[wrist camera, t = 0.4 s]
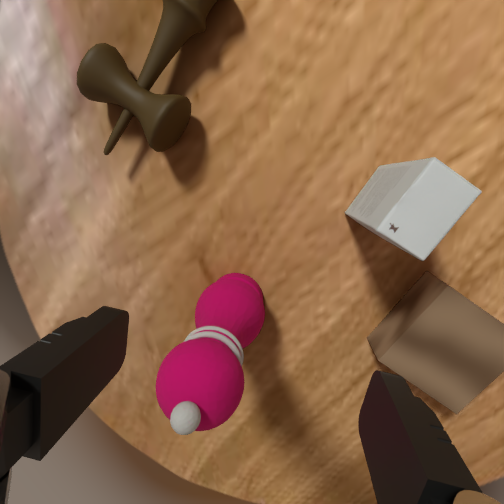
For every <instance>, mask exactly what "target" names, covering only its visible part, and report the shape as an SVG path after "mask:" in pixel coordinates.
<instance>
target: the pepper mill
mask: <svg viewBox="0 0 504 504" xmlns="http://www.w3.org/2000/svg"><path fill="white" fill-rule="evenodd" d="M264 318H265V309H264V304H263V294H262V291H261V289H260V287H259V285H258V284H257V283H256V281H255V280H253V279H252V278H251V277H249V276H247V275H244V274H240V273H231V274H227V275H224V276H222V277H221V278H220V279H218V280H217V281H216V282H215V283H213V284H211V285H210V286H209V287H207V288H206V289H205V290H204V292H203V293H202V294H201V296H200V298H199V300H198V303H197V306H196V311H195V324H196V328H197V329H196V330H194V331H192V332H191V333H190V334H189V335H188V336H187V337H186V339H185V341H184V342H183V343H181V344H179V345H177V346H176V347H175V348H173V349H172V350H171V351H170V353H169V354H168V355H167V356H166V357H165V359H164V360H163V362H162V364H161V366H160V368H159V371H158V374H157V380H156V395H157V400H158V403H159V406H160V408H161V409H162V411H163V412H164V414H165V416H166V417H167V418H168V419H169V420H170V423H171V426H172V428H173V429H174V431H175V432H176V433H178V434H181V435H188V434H190V433H192V432H193V431H204V430H210V429H212V428H215V427H218V426H219V425H221V424H223V423H224V422H225V421H227V420H228V419H229V418H230V416H231V415H232V414H233V413H234V412H235V410H236V408H237V407H238V405H239V403H240V400H241V398H242V394H243V391H244V373H243V369H242V364H243V359H244V355H243V348H244V347H246V346H248V345H249V344H250V343H251V342H252V341H253V340H254V339H255V338H256V337H257V335H258V334H259V333H260V330H261V328H262V326H263V323H264Z"/></svg>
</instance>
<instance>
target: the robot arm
mask: <svg viewBox="0 0 504 504" xmlns="http://www.w3.org/2000/svg"><path fill="white" fill-rule="evenodd" d="M128 324H129V314H128V312H127V311H125V310H120V309H116V308H112V307H108V306H103V307H101V308H99V309H98V310H97V311H95V312H94V313H92V314H91V315H89V316H88V317H87V318H86V317H81V318H78V319H75V320H73V321H70V322H67V323H65V324H63V325H62V326H60V327H59V328H57V329H56V330H54V331H53V332H52V334H48V335H47V336H45V337H44V338H42V339H41V341H37V342H36V343H34V344H33V345H31V346H30V347H28V348H27V349H25V350H24V351H22V352H21V353H19V354H18V355H16V356H15V357H13V358H12V359H10V360H9V361H7V362H6V363H4V364H3V365H1V366H0V504H8V498H9V491H10V483H11V475H12V466H13V465H14V464H15V463H16V462H17V461H18V460H19V459H20V458H21V457H22V456H24V457H27V458H32V459H35V460H39V461H41V460H42V458H43V457H44V456H45V455H46V454H47V453H48V452H49V450H50V449H51V448H52V447H53V446H54V445H55V443H56V442H57V441H58V440H59V439H60V438H61V437H62V436H63V434H64V433H65V432H66V431H67V430H68V429H69V428H70V426H71V425H72V424H73V423H74V422H75V420H77V418H78V417H79V416H80V415H81V414H82V413H83V412H84V410H85V409H86V408H87V407H88V406H89V405H90V404H91V402H92V401H93V400H94V399H95V398H96V397H97V396H98V394H99V393H100V392H101V391H102V390H103V389H104V388H105V386H106V385H107V384H108V383H109V382H110V381H111V380H112V378H113V377H114V376H115V375H116V374H117V373H118V371H119V370H120V368H121V366H122V364H123V362H124V359H125V355H126V346H127V335H128ZM359 434H360V438H361V442H362V446H363V449H364V453H365V457H366V461H367V465H368V468H369V472H370V476H371V480H372V484H373V487H374V491H375V495H376V499H377V503H378V504H501V503H499V502H498V501H496V500H495V499H493V498H491V497H489V496H487V495H485V494H483V493H482V491H481V489H480V488H479V486H478V484H477V483H476V481H475V479H474V478H473V476H472V474H471V473H470V471H469V469H468V468H467V466H466V464H465V463H464V461H463V459H462V458H461V456H460V454H459V453H458V451H457V449H456V448H455V446H454V445H453V444H451V442H452V441H451V439H450V438H449V436H448V434H447V433H446V431H444V430H443V426H442V424H441V423H440V421H439V419H438V418H437V416H436V414H435V413H434V412H433V411H432V410H431V409H430V408H429V407H428V406H427V405H426V404H425V403H424V402H423V401H422V400H421V399H420V398H418V397H414V395H413V394H412V392H411V390H410V388H409V386H408V384H407V383H406V381H405V379H404V378H403V377H402V376H399V375H395V374H391V373H386V372H382V371H378V370H377V371H375V372H374V373H373V375H372V377H371V380H370V383H369V386H368V389H367V392H366V395H365V398H364V401H363V404H362V407H361V410H360V414H359Z"/></svg>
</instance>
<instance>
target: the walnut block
mask: <svg viewBox="0 0 504 504" xmlns="http://www.w3.org/2000/svg"><path fill="white" fill-rule="evenodd" d="M367 339H368V341H369V343H370V345H371V347H372V349H373V351H374V353H375V355H376V357H377V359H378V361H380V362H381V363H383V364H384V365H385V366H387V367H388V368H390V369H391V370H393V371H394V372H396V373H397V374H399V375H400V376H402V377H403V378H404V379H406V380H407V381H409V382H410V383H412V384H413V385H415V386H416V387H418V388H419V389H421V390H422V391H423V392H425V393H426V394H428V395H429V396H431V397H432V398H434V399H435V400H437V401H438V402H440V403H441V404H442V405H444V406H445V407H447V408H448V409H450V410H451V411H453V412H454V413H456V414H458V413H459V412H460V411H461V410H462V409H463V408H464V407H465V406H466V405H467V404H469V403H470V402H471V401H472V400H473V399H474V398H475V397H476V396H477V395H478V394H479V393H481V392H482V391H483V390H484V389H485V388H486V387H487V386H488V385H489V384H490V383H491V382H493V381H494V380H495V379H496V378H497V377H498V376H499V375H500V374H501V373H502V372H503V371H504V324H503V323H501V322H500V321H499V320H497V319H496V318H494V317H493V316H491V315H490V314H489V313H487V312H486V311H484V310H483V309H482V308H480V307H479V306H477V305H476V304H474V303H473V302H472V301H470V300H469V299H467V298H466V297H464V296H463V295H462V294H460V293H459V292H457V291H456V290H455V289H453V288H452V287H450V286H449V285H447V284H446V283H444V282H443V281H441V280H440V279H438V278H437V277H435V276H434V275H432V274H431V273H429V272H428V271H426V272H425V273H424V275H423V276H422V277H421V278H420V279H419V280H418V281H417V282H416V283H415V285H414V286H413V287H412V288H411V289H410V290H409V291H408V292H407V294H406V295H405V296H404V297H403V298H402V299H401V300H400V301H399V302H398V304H397V305H396V306H395V307H394V308H393V309H392V310H391V311H390V312H389V314H388V315H387V316H386V317H385V318H384V319H383V320H382V321H381V323H380V324H379V325H378V326H377V327H376V328H375V329H374V330H373V331H372V333H371V334H370V335H369V336H368V337H367Z"/></svg>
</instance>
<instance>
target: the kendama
mask: <svg viewBox="0 0 504 504" xmlns="http://www.w3.org/2000/svg"><path fill="white" fill-rule="evenodd" d="M217 1H218V0H163V12H162V17H161V20H160V24H159V27H158V30H157V33H156V35H155V38H154V41H153V44H152V46H151V49H150V52H149V54H148V57H147V59H146V62H145V64H144V66H143V69H142V71H141V74H140V76H139V78H138V80H137V82H136V81H135V80H134V78H133V77H132V75H131V74H130V72H129V70H128V68H127V65H126V63H125V61H124V59H123V57H122V56H121V55H120V53H119V52H118V51H117V49H116V48H115V47H113V46H110V45H108V44H106V43H102V44H96V45H95V46H94V47H92V48H91V49H90V50H88V52H87V53H86V55H85V56H84V58H83V59H82V61H81V63H80V66H79V69H78V72H77V86H78V88H79V90H80V92H81V93H82V94H83V95H84V96H85V97H86V98H88V99H89V100H92V101H97V102H104V103H114V104H118V105H120V106H122V107H123V108H124V109H123V111H122V113H121V115H120V117H119V119H118V121H117V123H116V125H115V127H114V129H113V131H112V133H111V135H110V137H109V140H108V142H107V144H106V146H105V149H104V154H105V155H108V154H109V153H110V152H111V151H112V149H113V148H114V146H115V145H116V143H117V142H118V140H119V138H120V137H121V135H122V134H123V132H124V130H125V129H126V127H127V125H128V124H129V122H130V120H131V119H132V117H133V115H135V116H136V117H137V119H138V120H139V122H140V123H141V126H142V128H143V130H144V133H145V136H146V138H147V141H148V143H149V145H150V147H151V148H152V149H154V150H155V151H157V152H163V151H165V150H167V149H168V148H170V147H171V146H172V145H173V144H174V143H175V142H176V141H177V140H178V139H179V137H180V136H181V135H182V133H183V132H184V130H185V128H186V126H187V124H188V121H189V118H190V115H191V103H190V101H189V99H188V98H187V97H185V96H182V95H178V94H164V95H161V94H154V93H152V92H150V91H149V90H150V89H151V87H152V86H153V84H154V83H155V81H156V80H157V78H158V77H159V75H160V74H161V73H162V71H163V70H164V69H165V67H166V66H167V64H168V63H169V62H170V61H171V59H172V58H173V57H174V55H175V54H176V53H177V52H178V50H179V49H180V48H181V47H182V45H183V44H184V43H185V42H186V41H187V40H188V39H189V38H190V37H191V36H192V35H193V34H195V33H198V32H204V31H205V30H206V18H207V15H208V13H209V11H210V10H211V8H212V7H213V5H214V4H215V3H216V2H217Z"/></svg>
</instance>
